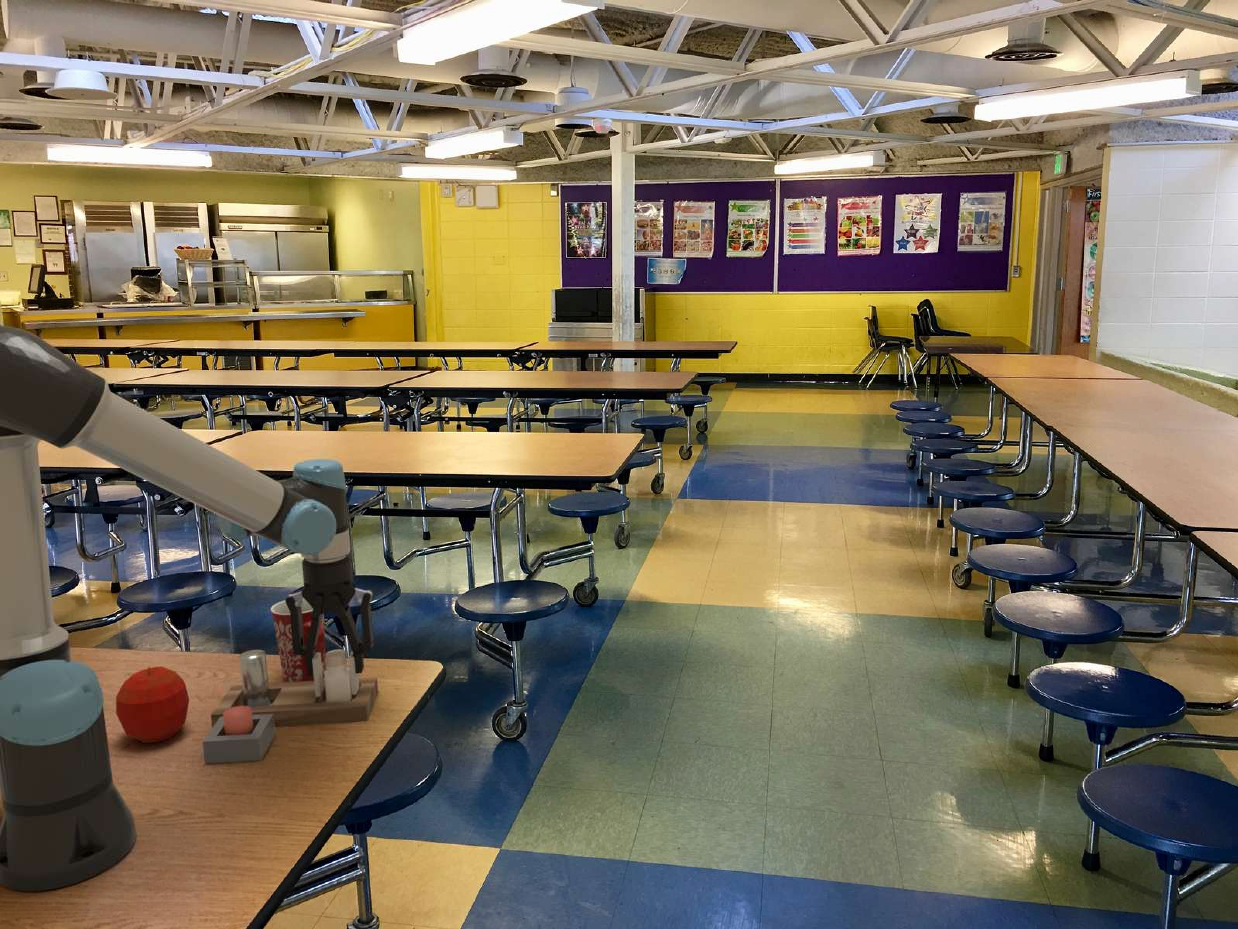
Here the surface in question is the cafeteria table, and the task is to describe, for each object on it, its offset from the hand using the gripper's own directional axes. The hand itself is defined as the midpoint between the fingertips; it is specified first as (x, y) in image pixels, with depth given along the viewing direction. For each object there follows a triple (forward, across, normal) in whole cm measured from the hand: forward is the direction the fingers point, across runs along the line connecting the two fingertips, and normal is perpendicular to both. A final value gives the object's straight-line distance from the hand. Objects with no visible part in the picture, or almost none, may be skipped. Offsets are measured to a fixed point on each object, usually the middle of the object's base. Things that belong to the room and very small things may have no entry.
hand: (337, 691), depth 156 cm
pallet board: (+3, +6, 0) cm, 7 cm away
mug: (+3, +8, -12) cm, 14 cm away
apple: (+3, +26, +6) cm, 27 cm away
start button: (+2, +12, +12) cm, 17 cm away
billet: (+3, +13, 0) cm, 13 cm away
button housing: (+3, +12, +12) cm, 18 cm away
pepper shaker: (+3, 0, 0) cm, 3 cm away
